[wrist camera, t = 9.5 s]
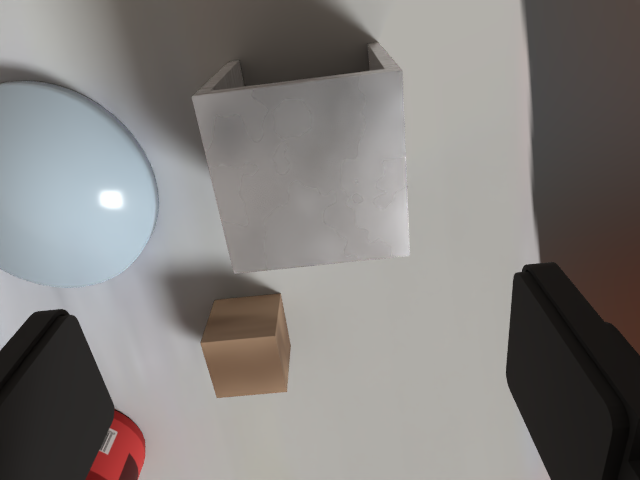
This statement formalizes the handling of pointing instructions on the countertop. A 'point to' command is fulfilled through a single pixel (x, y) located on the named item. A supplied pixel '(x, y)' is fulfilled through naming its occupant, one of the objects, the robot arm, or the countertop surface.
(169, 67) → the countertop surface
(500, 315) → the countertop surface
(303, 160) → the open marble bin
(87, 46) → the countertop surface
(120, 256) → the dish
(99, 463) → the canned food
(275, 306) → the block
